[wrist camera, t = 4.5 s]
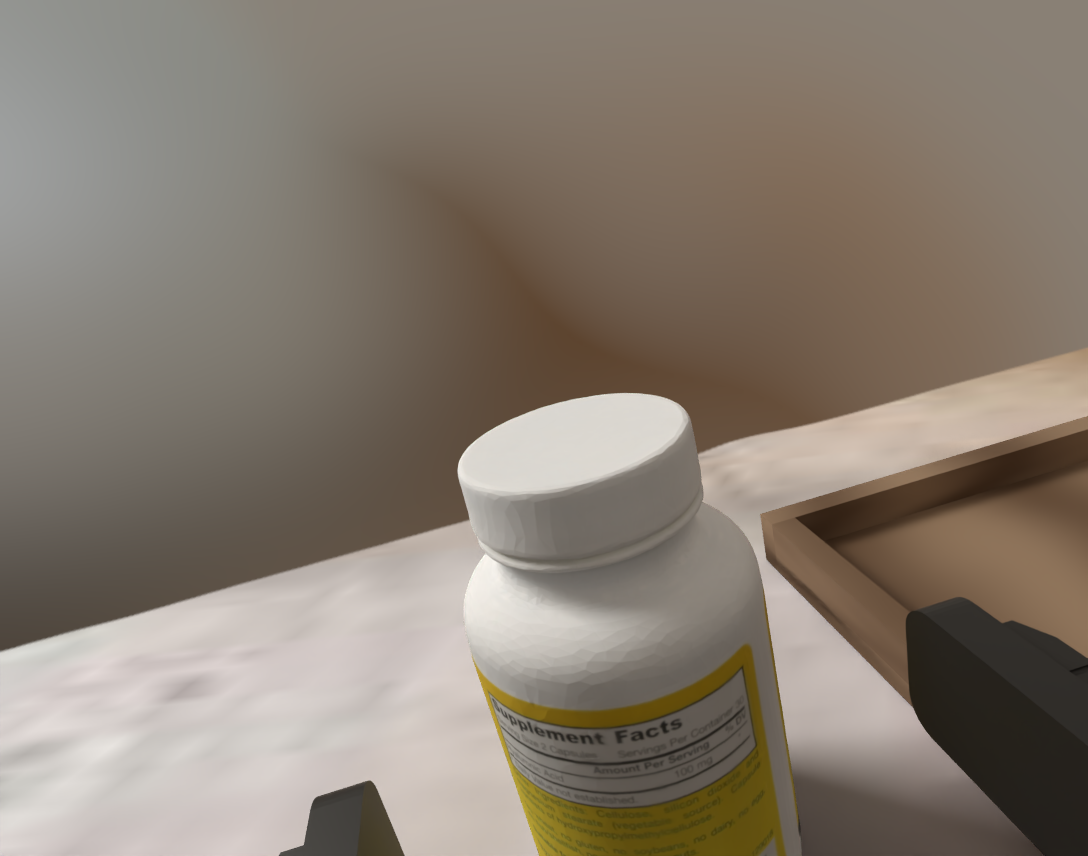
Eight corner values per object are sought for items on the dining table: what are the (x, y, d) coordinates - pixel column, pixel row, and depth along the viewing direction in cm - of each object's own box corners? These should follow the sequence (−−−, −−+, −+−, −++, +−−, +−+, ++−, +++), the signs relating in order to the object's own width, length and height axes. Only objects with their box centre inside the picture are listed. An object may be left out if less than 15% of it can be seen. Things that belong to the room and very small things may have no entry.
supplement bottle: (615, 725, 18) (531, 381, 15) (829, 788, 15) (783, 372, 12) (498, 914, 14) (347, 499, 11) (759, 1054, 11) (658, 532, 8)
